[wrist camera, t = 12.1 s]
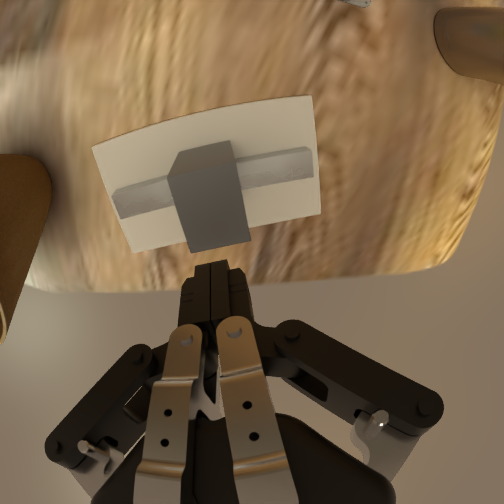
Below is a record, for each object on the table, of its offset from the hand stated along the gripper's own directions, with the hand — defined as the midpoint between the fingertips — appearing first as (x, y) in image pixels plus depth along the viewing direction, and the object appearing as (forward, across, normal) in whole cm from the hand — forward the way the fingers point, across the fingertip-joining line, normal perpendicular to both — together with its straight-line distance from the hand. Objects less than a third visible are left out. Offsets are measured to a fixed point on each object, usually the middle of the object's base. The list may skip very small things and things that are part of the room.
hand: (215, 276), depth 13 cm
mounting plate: (+15, 0, 0) cm, 15 cm away
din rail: (+15, 0, 0) cm, 15 cm away
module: (+14, 0, 0) cm, 14 cm away
